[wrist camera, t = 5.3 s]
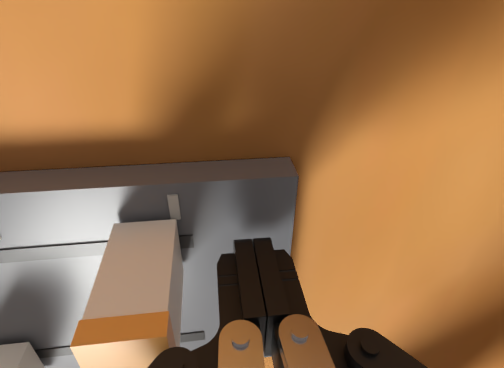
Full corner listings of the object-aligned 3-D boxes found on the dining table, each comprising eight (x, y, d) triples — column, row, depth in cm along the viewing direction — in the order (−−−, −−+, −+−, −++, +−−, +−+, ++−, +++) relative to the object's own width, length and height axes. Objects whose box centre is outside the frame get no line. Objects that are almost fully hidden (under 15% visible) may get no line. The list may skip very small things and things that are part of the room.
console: (289, 156, 15) (299, 177, 13) (274, 331, 22) (279, 356, 20) (-133, 179, 13) (-174, 205, 11) (3, 362, 20) (-12, 392, 18)
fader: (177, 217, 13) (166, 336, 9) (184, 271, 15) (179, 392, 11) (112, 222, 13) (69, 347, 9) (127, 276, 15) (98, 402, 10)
